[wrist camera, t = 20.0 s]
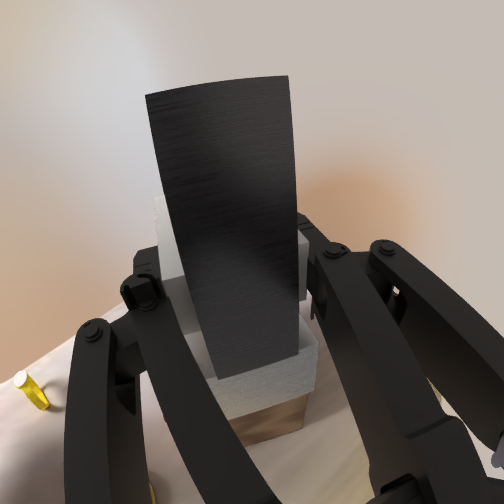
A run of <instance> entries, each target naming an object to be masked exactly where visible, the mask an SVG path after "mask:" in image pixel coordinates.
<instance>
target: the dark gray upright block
mask: <svg viewBox="0 0 504 504" xmlns="http://www.w3.org/2000/svg"><path fill="white" fill-rule="evenodd" d="M145 98H146V104H147V111H148V116H149V122H150V127H151V132H152V138H153V143H154V149H155V154H156V158H157V163H158V168H159V173H160V177H161V182H162V186H163V191H164V195H165V200H166V204H167V208H168V212H169V217H170V221H171V225H172V229H173V233H174V237H175V241H176V244H177V248H178V252H179V256H180V260H181V263H182V267H183V271H184V274H185V278H186V281H187V285H188V288H189V292H190V295H191V298H192V302H193V305H194V309H195V312H196V315H197V318H198V322H199V325H200V328H201V331H199V332H195V333H191V334H188V335H184V337H185V339H186V341H187V343H188V346H189V348H190V350H191V352H192V354H193V356H194V358H195V360H196V362H197V364H198V366H199V368H200V370H201V372H202V374H203V376H204V378H205V379H206V381H207V383H208V385H209V387H210V389H211V391H212V393H213V395H214V396H215V398H216V400H217V402H218V404H219V406H220V407H221V409H222V411H223V413H224V414H225V416H226V418H227V420H230V419H233V418H237V417H240V416H244V415H247V414H250V413H253V412H256V411H260V410H263V409H266V408H269V407H272V406H274V405H277V404H280V403H283V402H286V401H289V400H291V399H294V398H297V397H299V396H302V395H304V394H307V393H310V392H312V391H314V390H315V382H316V373H317V363H318V353H319V341H318V340H317V338H316V337H315V335H314V334H313V332H312V331H311V329H310V328H309V326H308V325H307V323H306V322H305V320H304V319H303V317H302V316H301V314H300V313H299V257H298V221H297V197H296V176H295V158H294V142H293V128H292V114H291V101H290V90H289V80H288V76H270V77H255V78H244V79H235V80H226V81H219V82H211V83H204V84H198V85H192V86H186V87H181V88H175V89H171V90H166V91H161V92H156V93H152V94H147V95H145Z"/></svg>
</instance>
